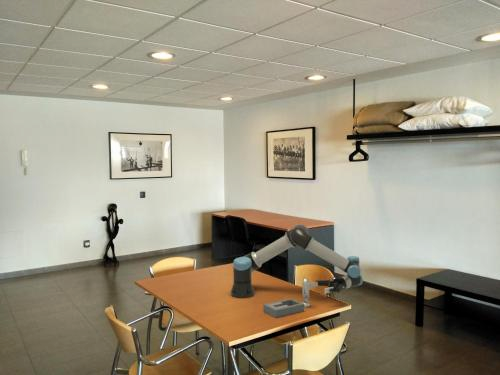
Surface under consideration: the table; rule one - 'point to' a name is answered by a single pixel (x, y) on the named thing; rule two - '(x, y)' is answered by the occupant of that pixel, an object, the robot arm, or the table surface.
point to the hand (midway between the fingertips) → (316, 288)
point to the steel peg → (306, 292)
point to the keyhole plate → (283, 307)
